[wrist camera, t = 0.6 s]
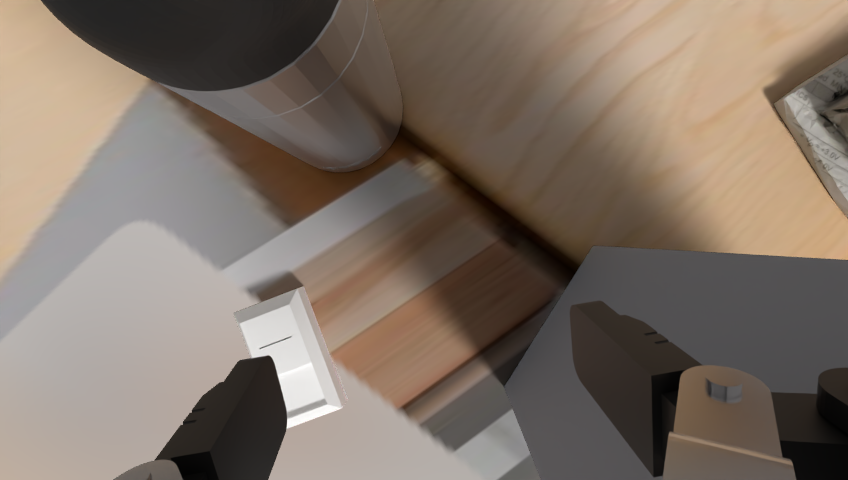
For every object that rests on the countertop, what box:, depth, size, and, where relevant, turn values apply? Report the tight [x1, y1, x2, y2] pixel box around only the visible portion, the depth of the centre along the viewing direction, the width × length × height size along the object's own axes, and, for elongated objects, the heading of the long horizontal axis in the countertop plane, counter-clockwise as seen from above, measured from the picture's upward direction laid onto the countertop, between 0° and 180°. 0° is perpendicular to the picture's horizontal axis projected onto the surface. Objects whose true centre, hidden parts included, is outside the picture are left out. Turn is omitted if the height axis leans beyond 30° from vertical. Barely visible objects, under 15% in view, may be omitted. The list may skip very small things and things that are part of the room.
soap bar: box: [234, 286, 348, 429], centre depth 30 cm, size 5×9×3 cm, turn 21°
